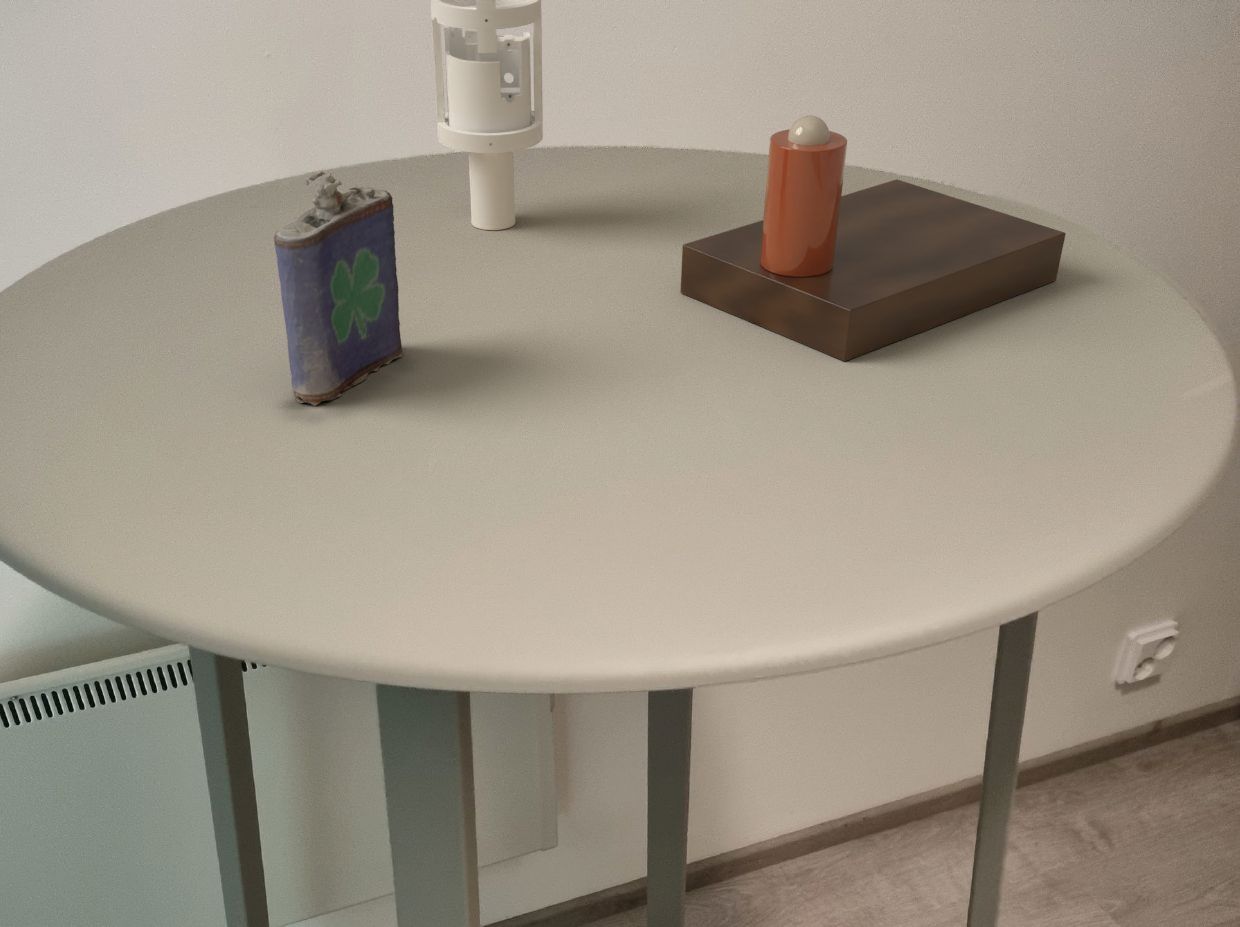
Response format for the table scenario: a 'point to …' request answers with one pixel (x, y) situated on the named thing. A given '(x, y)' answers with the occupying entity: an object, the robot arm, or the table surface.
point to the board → (879, 270)
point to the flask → (339, 289)
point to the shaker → (803, 199)
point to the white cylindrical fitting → (488, 96)
